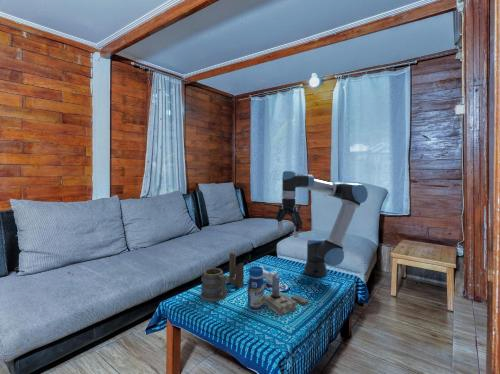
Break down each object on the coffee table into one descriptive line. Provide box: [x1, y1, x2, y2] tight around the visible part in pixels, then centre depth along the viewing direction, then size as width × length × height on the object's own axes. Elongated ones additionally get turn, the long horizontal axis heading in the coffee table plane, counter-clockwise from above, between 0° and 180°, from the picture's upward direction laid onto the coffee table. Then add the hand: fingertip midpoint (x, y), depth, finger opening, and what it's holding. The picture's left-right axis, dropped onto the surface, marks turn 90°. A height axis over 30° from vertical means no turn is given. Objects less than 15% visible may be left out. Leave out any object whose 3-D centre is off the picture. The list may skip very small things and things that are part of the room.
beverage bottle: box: [246, 266, 265, 312], centre depth 136 cm, size 8×8×20 cm
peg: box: [271, 274, 280, 299], centre depth 141 cm, size 4×4×14 cm
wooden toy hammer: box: [227, 252, 245, 288], centre depth 163 cm, size 4×11×18 cm, turn 42°
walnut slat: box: [290, 294, 309, 306], centre depth 143 cm, size 9×3×2 cm, turn 45°
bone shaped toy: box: [258, 265, 279, 286], centre depth 169 cm, size 15×9×8 cm, turn 41°
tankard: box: [199, 267, 230, 303], centre depth 144 cm, size 20×13×15 cm, turn 40°
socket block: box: [264, 290, 298, 316], centre depth 139 cm, size 11×14×4 cm
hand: (288, 234), depth 157 cm, fingers open, 13 cm apart
